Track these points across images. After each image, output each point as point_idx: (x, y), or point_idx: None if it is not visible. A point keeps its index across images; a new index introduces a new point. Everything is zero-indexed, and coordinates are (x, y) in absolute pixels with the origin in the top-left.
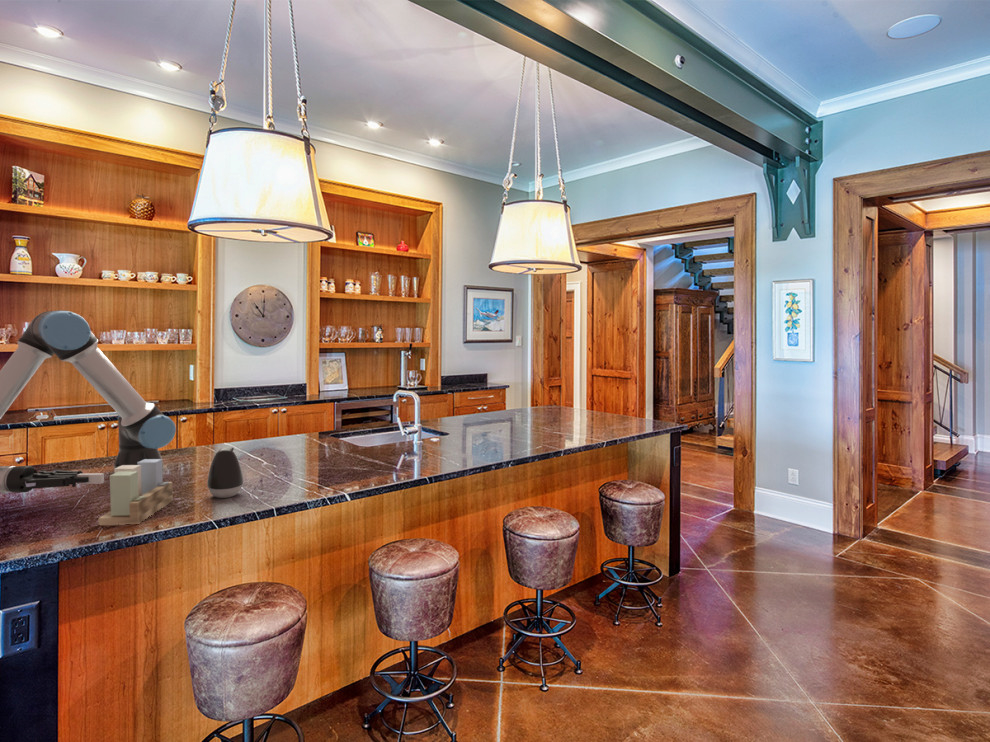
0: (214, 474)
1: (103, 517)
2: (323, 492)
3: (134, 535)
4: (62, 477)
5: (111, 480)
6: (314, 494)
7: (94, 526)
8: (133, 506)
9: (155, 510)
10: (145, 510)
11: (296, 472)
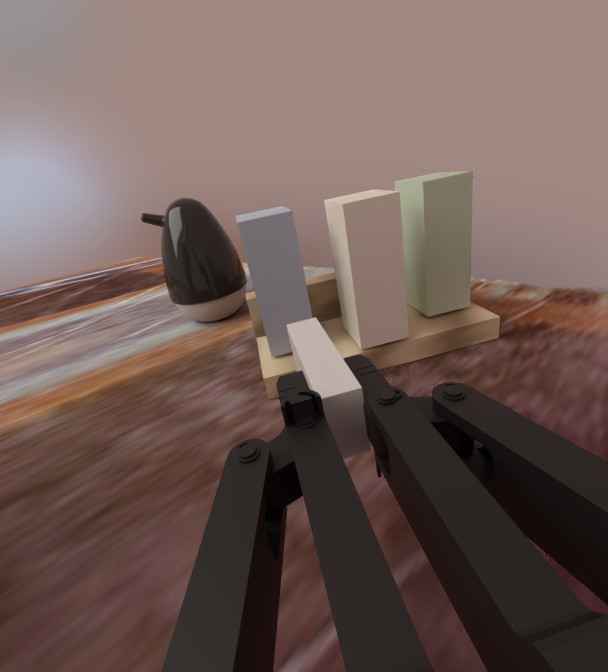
0: (233, 251)
1: (486, 314)
2: None
3: (484, 280)
4: (474, 418)
5: (468, 190)
6: None
7: (510, 340)
8: None
9: None
10: None
11: (62, 321)
